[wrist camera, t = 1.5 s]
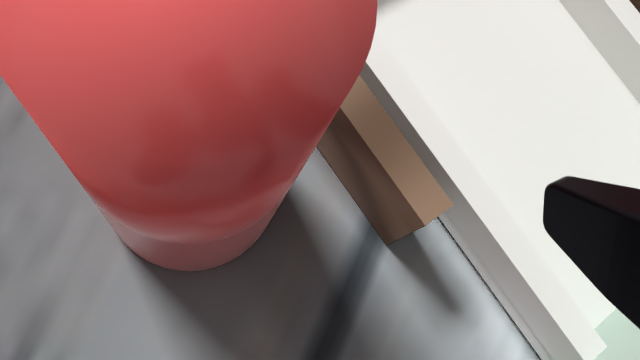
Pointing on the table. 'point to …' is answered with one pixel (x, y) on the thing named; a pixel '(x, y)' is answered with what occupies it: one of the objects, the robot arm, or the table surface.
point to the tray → (519, 141)
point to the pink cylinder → (185, 107)
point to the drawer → (382, 166)
